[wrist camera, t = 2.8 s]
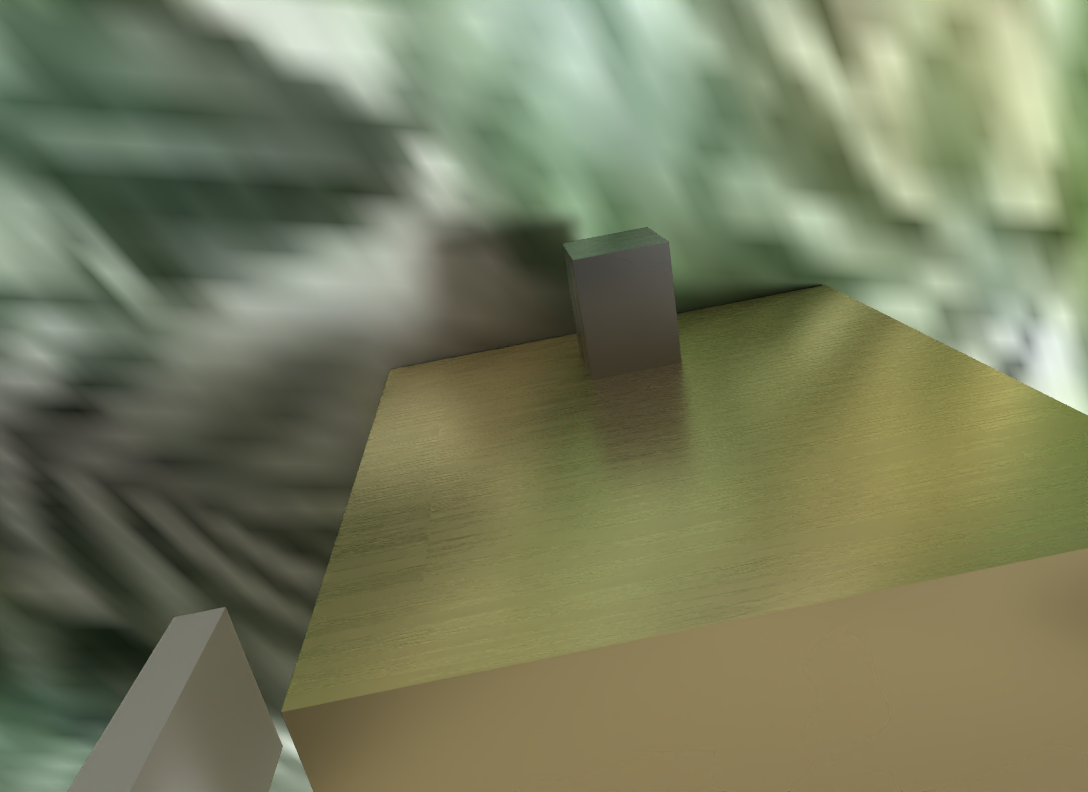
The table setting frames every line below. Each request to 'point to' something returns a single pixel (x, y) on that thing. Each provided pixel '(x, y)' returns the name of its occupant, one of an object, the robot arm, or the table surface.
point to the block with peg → (705, 561)
